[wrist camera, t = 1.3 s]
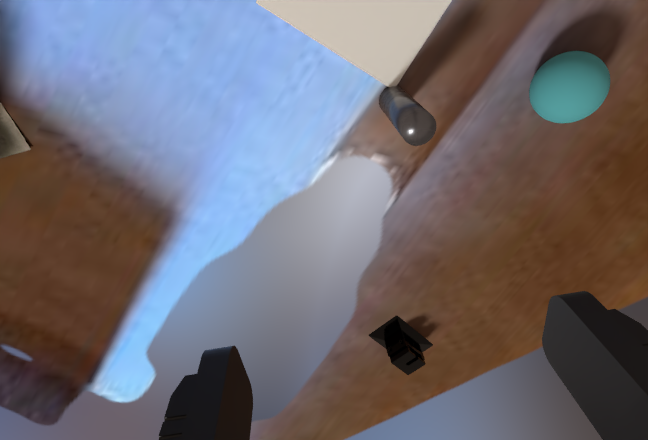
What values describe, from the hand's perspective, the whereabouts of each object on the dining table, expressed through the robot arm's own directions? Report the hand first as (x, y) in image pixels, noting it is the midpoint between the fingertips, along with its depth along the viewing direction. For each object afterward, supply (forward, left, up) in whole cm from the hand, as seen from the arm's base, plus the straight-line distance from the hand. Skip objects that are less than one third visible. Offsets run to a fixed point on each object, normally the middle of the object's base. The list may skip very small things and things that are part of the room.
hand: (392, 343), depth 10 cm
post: (-3, +6, -30) cm, 31 cm away
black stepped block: (+23, +26, -31) cm, 47 cm away
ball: (-11, +18, -27) cm, 34 cm away
